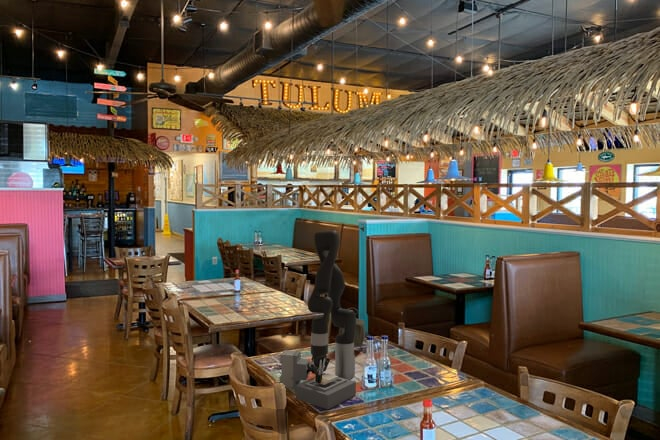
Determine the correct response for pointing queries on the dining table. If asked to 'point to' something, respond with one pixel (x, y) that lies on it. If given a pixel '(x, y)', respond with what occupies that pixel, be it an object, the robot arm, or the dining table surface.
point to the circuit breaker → (293, 368)
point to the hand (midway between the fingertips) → (318, 382)
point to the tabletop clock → (357, 331)
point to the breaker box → (325, 392)
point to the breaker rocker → (328, 378)
